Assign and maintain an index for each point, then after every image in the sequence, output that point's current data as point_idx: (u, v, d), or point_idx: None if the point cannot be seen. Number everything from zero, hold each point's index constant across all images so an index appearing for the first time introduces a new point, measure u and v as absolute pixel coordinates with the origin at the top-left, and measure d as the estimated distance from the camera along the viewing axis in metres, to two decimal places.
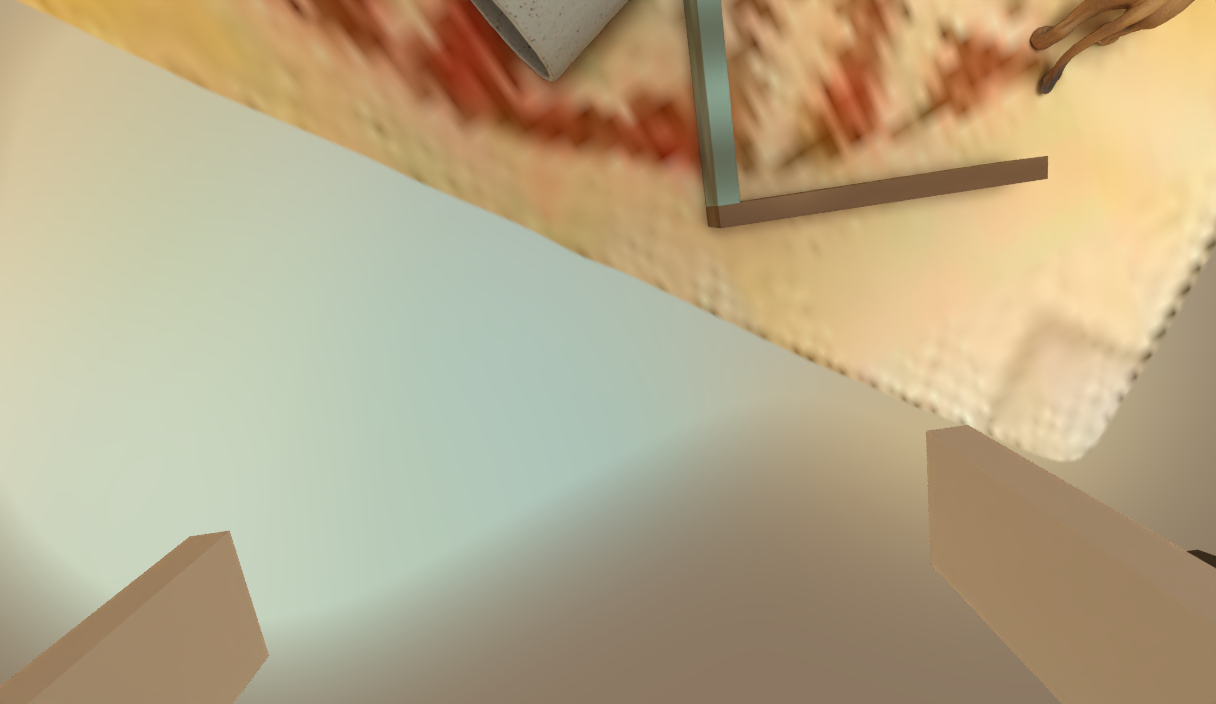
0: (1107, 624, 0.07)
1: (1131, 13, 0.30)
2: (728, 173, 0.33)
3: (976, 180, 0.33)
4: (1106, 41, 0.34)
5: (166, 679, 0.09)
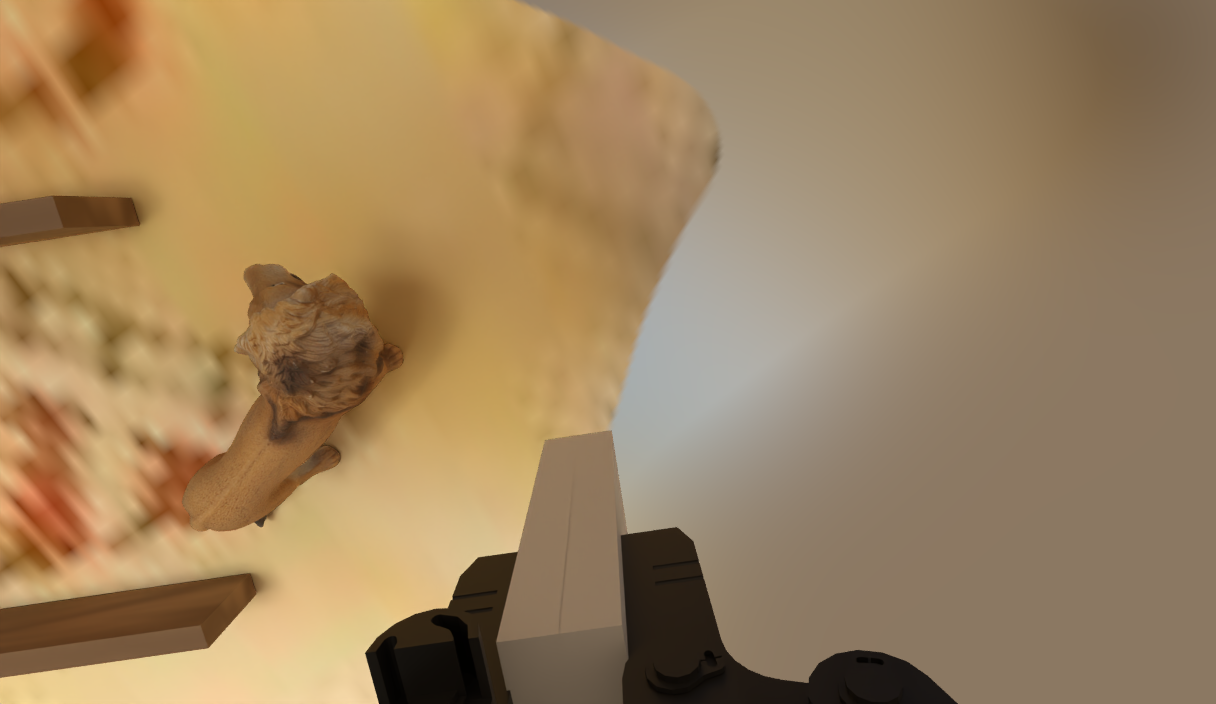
0: None
1: None
2: None
3: (120, 651, 0.28)
4: None
5: None
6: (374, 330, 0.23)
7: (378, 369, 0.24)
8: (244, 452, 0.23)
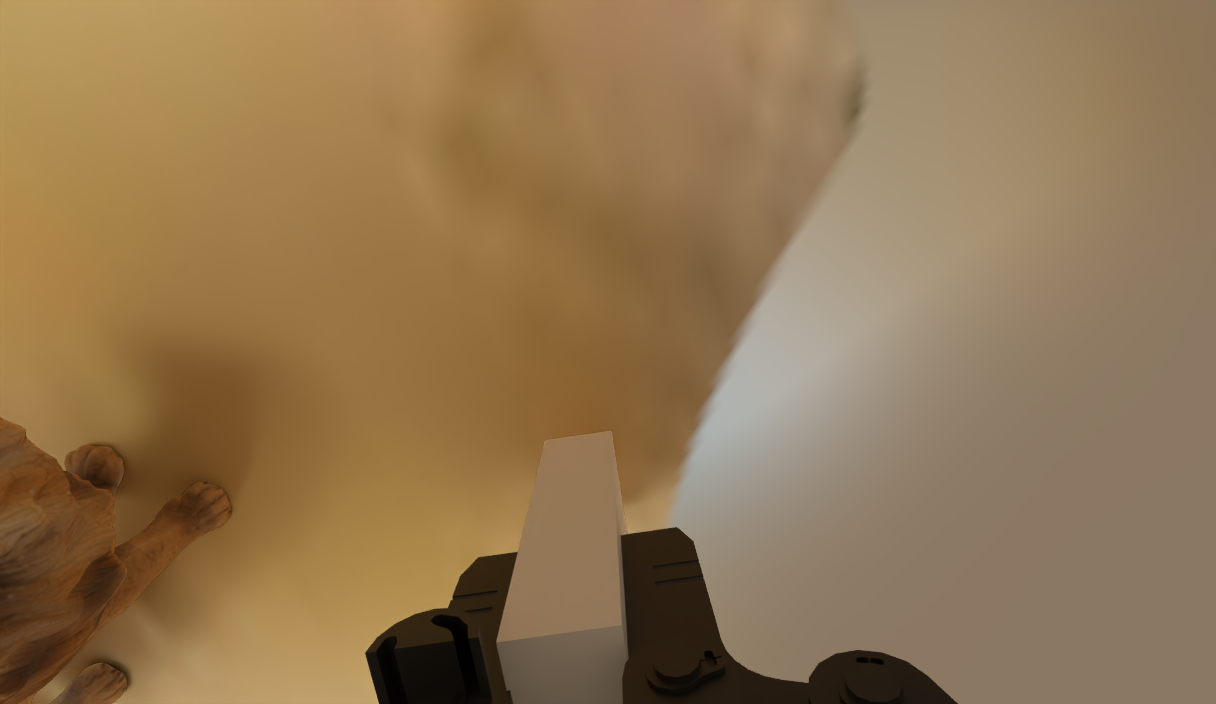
0: None
1: None
2: None
3: None
4: None
5: None
6: (62, 522, 0.10)
7: (96, 597, 0.11)
8: None
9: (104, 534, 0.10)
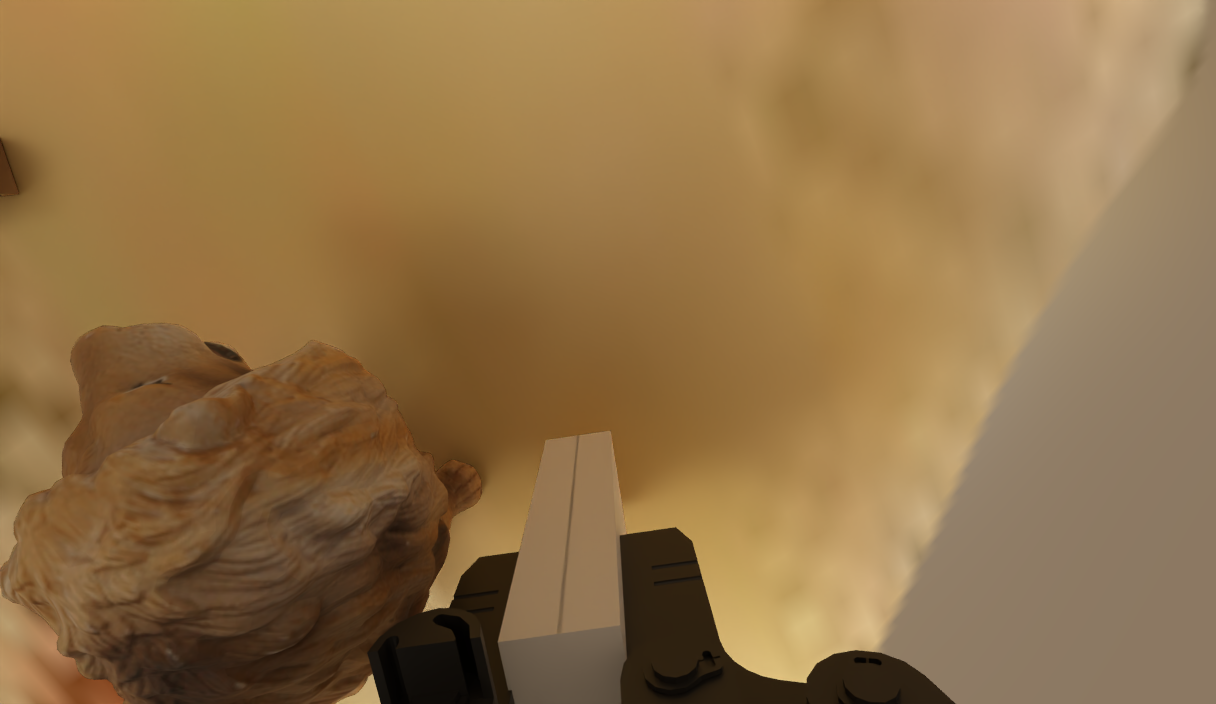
0: None
1: None
2: None
3: None
4: None
5: None
6: (426, 473, 0.09)
7: (437, 558, 0.10)
8: None
9: (446, 491, 0.10)
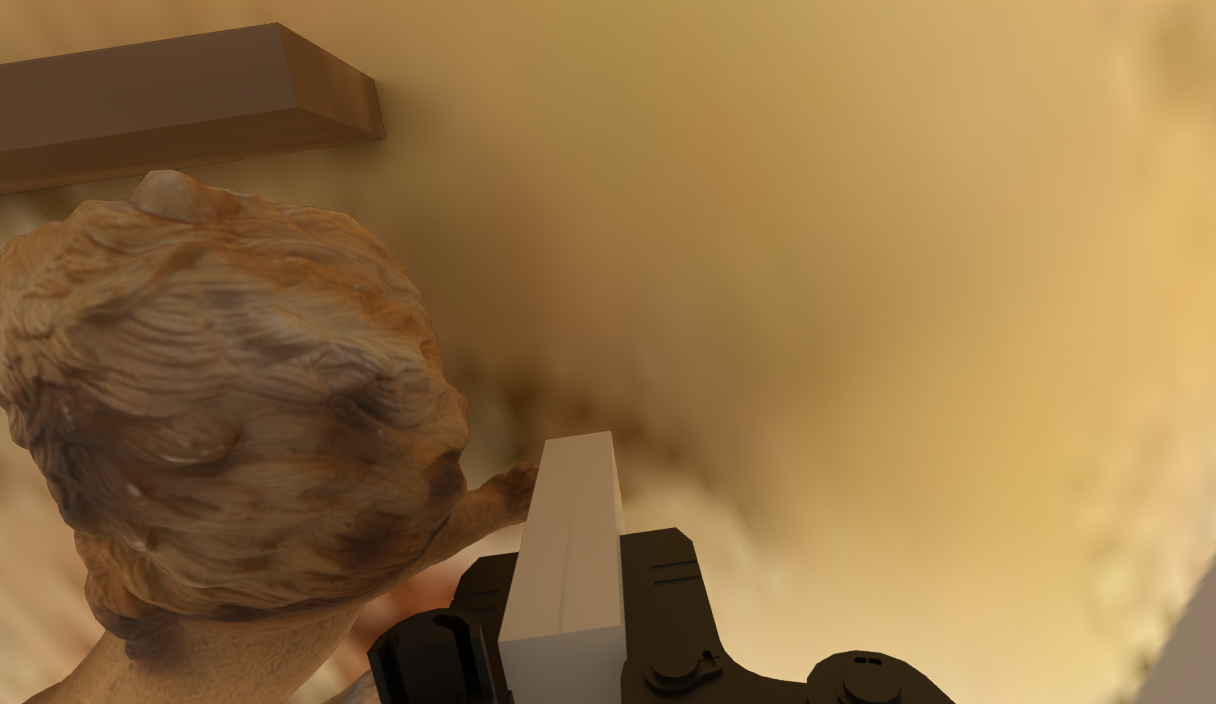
0: None
1: None
2: None
3: None
4: None
5: None
6: (435, 386, 0.08)
7: (439, 501, 0.09)
8: (89, 673, 0.09)
9: (463, 426, 0.09)
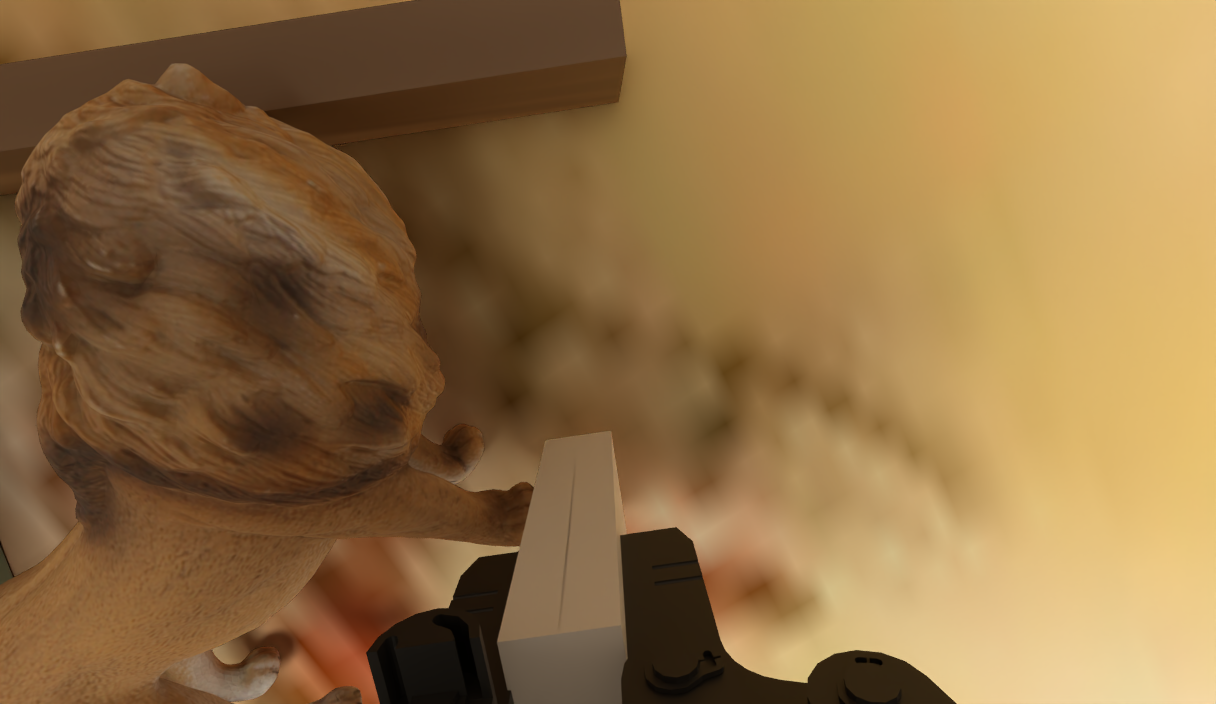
0: None
1: None
2: None
3: None
4: None
5: None
6: (382, 310, 0.09)
7: (363, 430, 0.09)
8: (62, 542, 0.10)
9: (408, 364, 0.09)
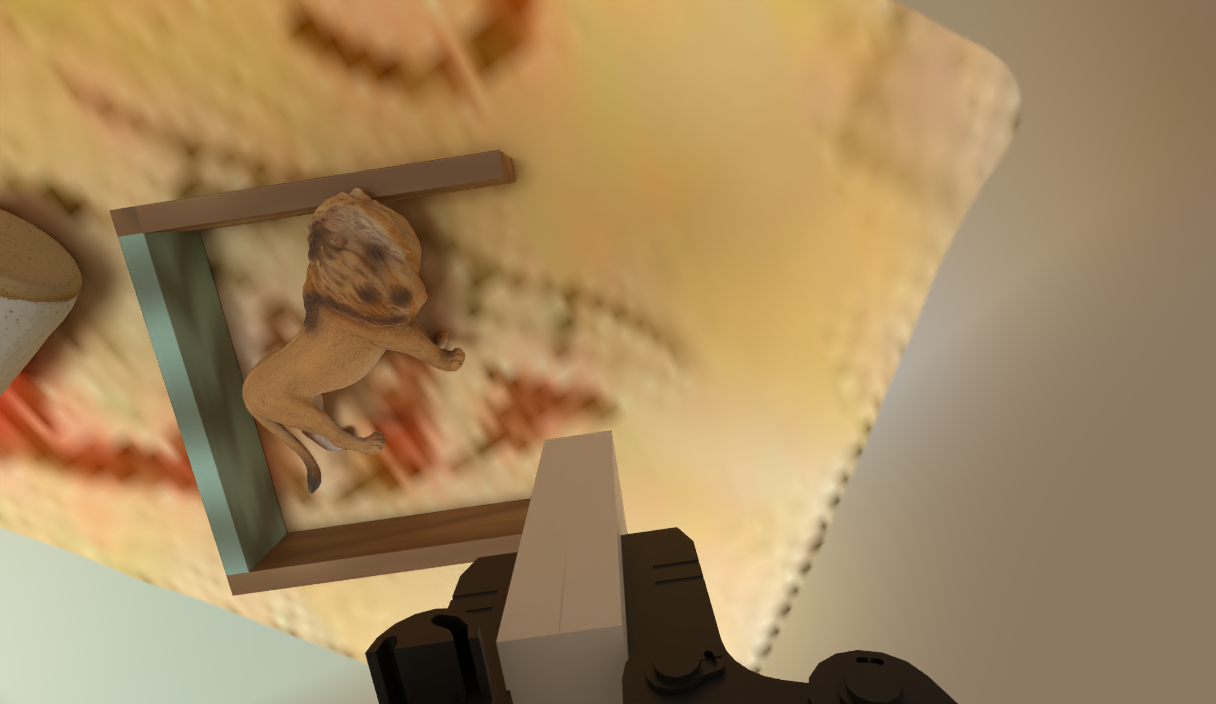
0: None
1: None
2: (231, 545, 0.32)
3: (494, 550, 0.32)
4: (333, 444, 0.31)
5: None
6: (406, 264, 0.28)
7: (396, 301, 0.27)
8: (293, 338, 0.29)
9: (412, 283, 0.28)
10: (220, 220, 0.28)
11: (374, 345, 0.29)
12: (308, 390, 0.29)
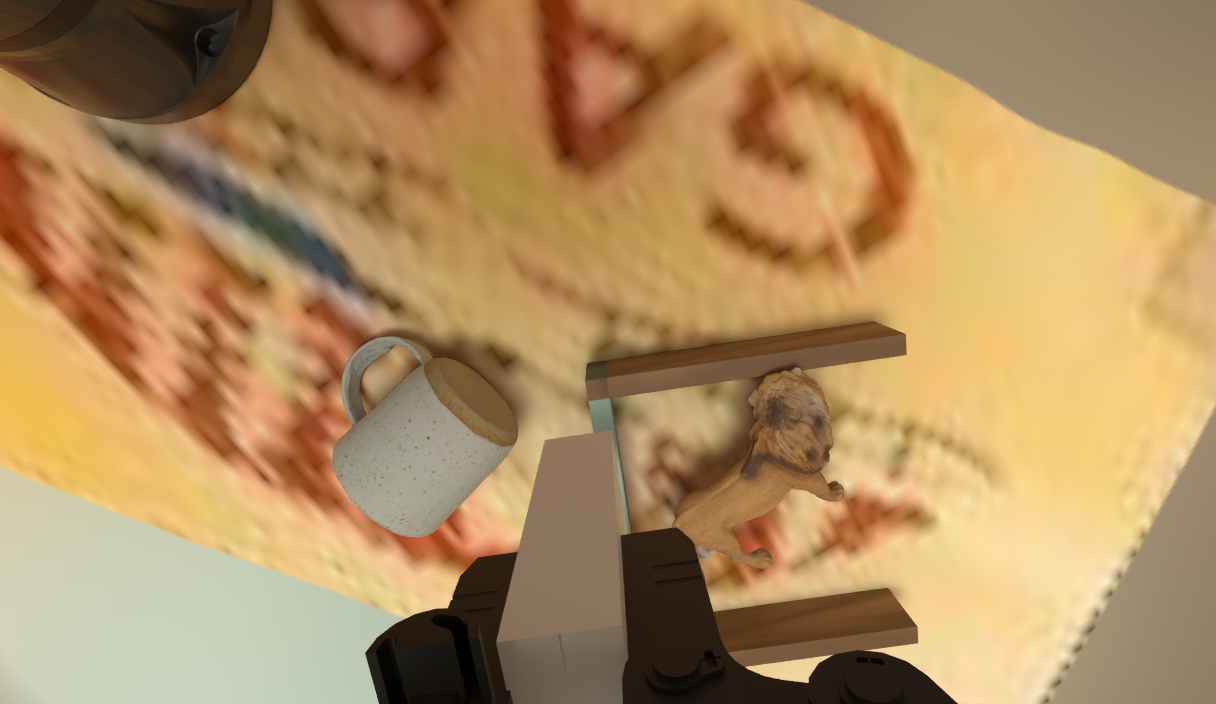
0: None
1: None
2: None
3: (855, 645, 0.38)
4: (730, 560, 0.38)
5: None
6: (830, 426, 0.34)
7: (824, 457, 0.34)
8: (723, 481, 0.35)
9: None
10: (672, 388, 0.35)
11: (791, 487, 0.35)
12: (734, 523, 0.35)
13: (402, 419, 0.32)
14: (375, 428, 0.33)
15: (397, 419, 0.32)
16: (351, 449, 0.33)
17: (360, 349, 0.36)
